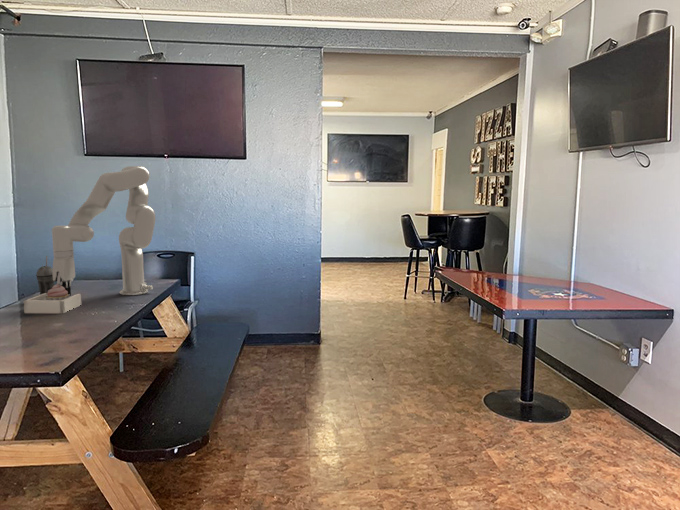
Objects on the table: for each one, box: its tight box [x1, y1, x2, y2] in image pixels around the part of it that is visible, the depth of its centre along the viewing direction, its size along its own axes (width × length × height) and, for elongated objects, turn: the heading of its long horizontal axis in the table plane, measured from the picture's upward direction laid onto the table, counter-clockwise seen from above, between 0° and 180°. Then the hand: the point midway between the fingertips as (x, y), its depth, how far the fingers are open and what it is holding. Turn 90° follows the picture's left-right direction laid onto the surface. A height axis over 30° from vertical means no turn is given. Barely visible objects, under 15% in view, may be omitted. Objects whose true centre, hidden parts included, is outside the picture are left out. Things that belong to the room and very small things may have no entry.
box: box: [23, 293, 82, 314], centre depth 203 cm, size 15×14×5 cm
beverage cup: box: [35, 255, 55, 296], centre depth 216 cm, size 7×7×20 cm
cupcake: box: [45, 283, 71, 301], centre depth 206 cm, size 9×9×10 cm
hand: (66, 296), depth 212 cm, fingers closed
